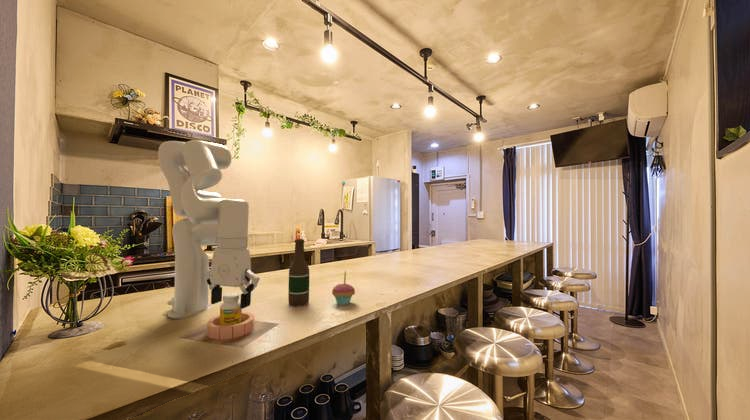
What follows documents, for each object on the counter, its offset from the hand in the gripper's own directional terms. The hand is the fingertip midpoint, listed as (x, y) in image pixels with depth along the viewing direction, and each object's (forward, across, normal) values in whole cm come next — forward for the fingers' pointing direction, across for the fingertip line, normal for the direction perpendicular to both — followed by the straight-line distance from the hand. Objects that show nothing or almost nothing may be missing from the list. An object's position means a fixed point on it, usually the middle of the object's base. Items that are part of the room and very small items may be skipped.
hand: (230, 304), depth 77 cm
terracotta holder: (+7, +1, 0) cm, 7 cm away
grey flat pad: (+8, +1, 0) cm, 8 cm away
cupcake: (+8, +21, +34) cm, 40 cm away
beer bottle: (+8, +5, +29) cm, 30 cm away
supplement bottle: (+7, 0, 0) cm, 7 cm away
